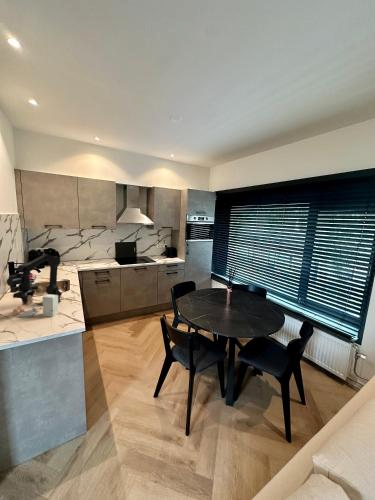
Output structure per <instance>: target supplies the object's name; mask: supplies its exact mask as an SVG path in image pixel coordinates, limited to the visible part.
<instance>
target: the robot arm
mask: <svg viewBox="0 0 375 500" xmlns="http://www.w3.org/2000/svg"><path fill="white" fill-rule="evenodd" d="M43 262H48V263H47V264H48V266H49V283H48V286H46V288H45V292H46V295H48V294H50V295H58V304H60V303H61V302H62V300H61V296H62V294H63V293H62V292H61V291H60V290H59V286H58V284H57V282H58V281H57V280H58V267H59V266H60V264H61V258H60V257H59V256H53V255H49V254H41V255H40V256H39V257H36V258H35V259H33V260H31V261H28V262H25V263H22V264H19V265H18V266H17V268H16V270H15V271H14V274H13V275H9V276H8V278H7V279H6V284H7V286H9V287H10V292H11V293H13V294H12V298H13V299H21V302H22V301H23V303H24V304H26V302H27V299H28V295H31V299H32V298H33V295H34V294H35V292H36V290H39V286H38V285H32V283H33V282H31V277H30V276H33V273H32V271H33V270H34V269H35V267H37V266H39V265H40V264H43ZM16 285H17V286H16Z"/></svg>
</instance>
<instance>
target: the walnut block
mask: <svg viewBox="0 0 375 500" xmlns="http://www.w3.org/2000/svg"><path fill="white" fill-rule="evenodd" d="M21 304H22V305H21V306H30V305H31V304H33V302H32V298H31V295H28V299H27V302H26V304H24V303H23V301H22V300H21Z"/></svg>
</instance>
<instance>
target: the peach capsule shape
mask: <svg viewBox="0 0 375 500" xmlns="http://www.w3.org/2000/svg"><path fill="white" fill-rule="evenodd" d="M20 314H21V313H20V309H19V308H18V307H17V308H14V309H12V315H13V316H14V317H17V316H19V315H20Z"/></svg>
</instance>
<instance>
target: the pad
mask: <svg viewBox="0 0 375 500" xmlns="http://www.w3.org/2000/svg"><path fill="white" fill-rule="evenodd" d="M37 313H39V311H38V310H36V311H33V310H26V311H24V312H22V313H20V315H18V316H16V317H17V318H18V319H20V318H21V319H23V318H24V319H25V318H26V319H27V318H32V317H33V316H35V315H36V314H37Z"/></svg>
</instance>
